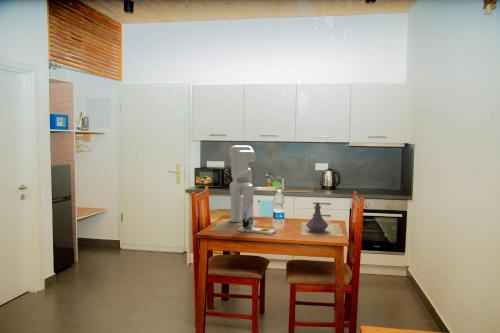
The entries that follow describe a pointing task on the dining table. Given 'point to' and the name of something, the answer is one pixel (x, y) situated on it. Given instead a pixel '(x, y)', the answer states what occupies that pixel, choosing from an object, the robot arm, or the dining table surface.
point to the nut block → (248, 224)
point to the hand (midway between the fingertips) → (247, 226)
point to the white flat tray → (257, 230)
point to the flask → (317, 221)
